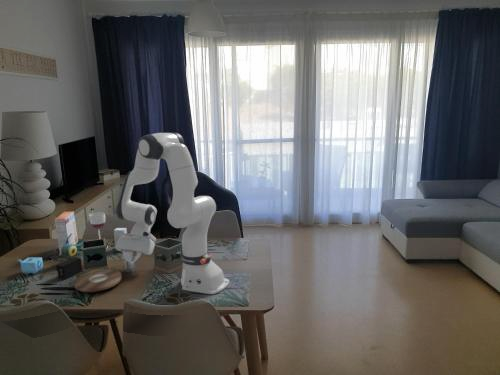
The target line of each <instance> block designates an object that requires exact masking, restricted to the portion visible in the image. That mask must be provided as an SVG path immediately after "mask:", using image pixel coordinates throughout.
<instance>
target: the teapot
mask: <svg viewBox="0 0 500 375" xmlns="http://www.w3.org/2000/svg"><path fill="white" fill-rule="evenodd" d="M17 261H18V262H19V263H20V269H21V274H25V275H29V274H32V275H36V274H37V273H39V272H41V270H43V269H44V261H43V257H40V256H39V257H27V258H26V259H24V260H22V259H17Z"/></svg>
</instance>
